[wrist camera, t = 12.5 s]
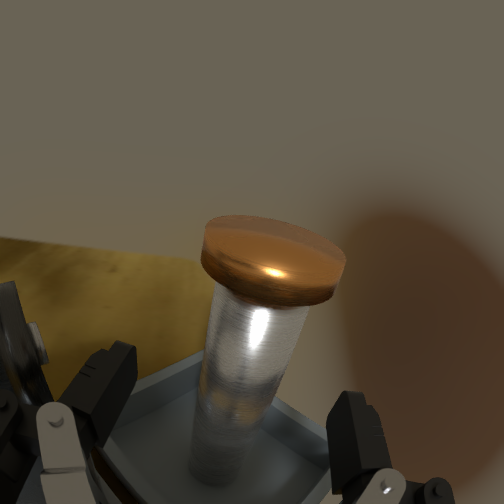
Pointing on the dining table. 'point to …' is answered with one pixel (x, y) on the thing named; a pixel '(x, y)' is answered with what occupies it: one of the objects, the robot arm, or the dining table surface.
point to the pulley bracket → (27, 378)
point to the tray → (179, 439)
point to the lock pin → (252, 330)
